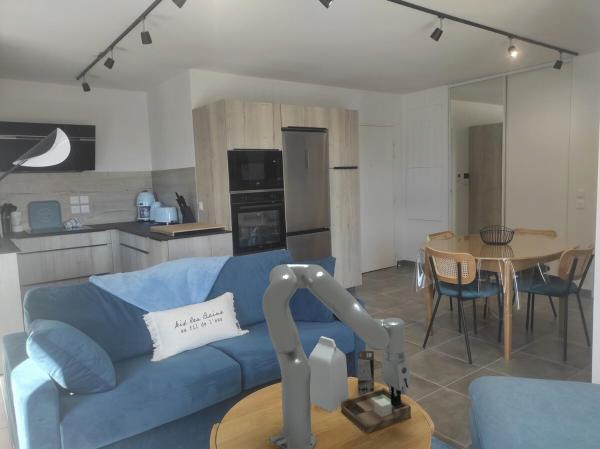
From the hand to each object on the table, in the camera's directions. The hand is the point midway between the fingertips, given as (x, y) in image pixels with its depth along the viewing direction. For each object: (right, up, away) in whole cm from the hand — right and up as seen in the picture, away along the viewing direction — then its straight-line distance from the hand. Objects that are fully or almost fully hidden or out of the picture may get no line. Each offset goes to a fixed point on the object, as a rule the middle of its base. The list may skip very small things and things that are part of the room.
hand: (396, 404), depth 155 cm
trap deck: (-5, -8, +11) cm, 15 cm away
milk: (-22, -8, +22) cm, 32 cm away
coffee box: (-6, -7, +28) cm, 29 cm away
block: (-3, -6, +8) cm, 11 cm away
